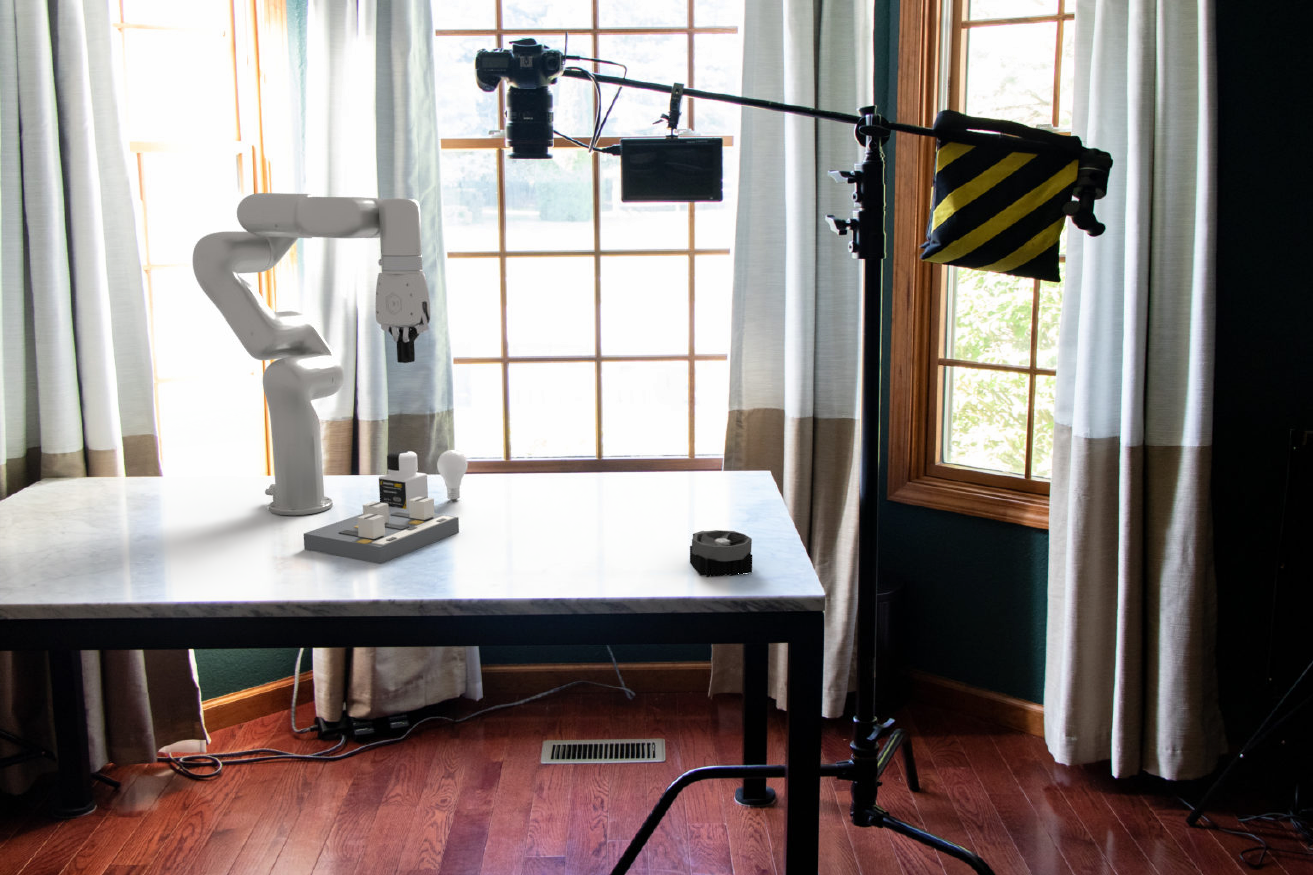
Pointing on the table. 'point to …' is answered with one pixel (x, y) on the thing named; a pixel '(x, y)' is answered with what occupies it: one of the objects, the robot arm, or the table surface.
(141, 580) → the table surface
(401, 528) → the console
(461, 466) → the lightbulb
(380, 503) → the switch
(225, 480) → the table surface
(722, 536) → the cpu cooler
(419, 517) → the switch
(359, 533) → the switch
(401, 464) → the medicine bottle
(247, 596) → the table surface
